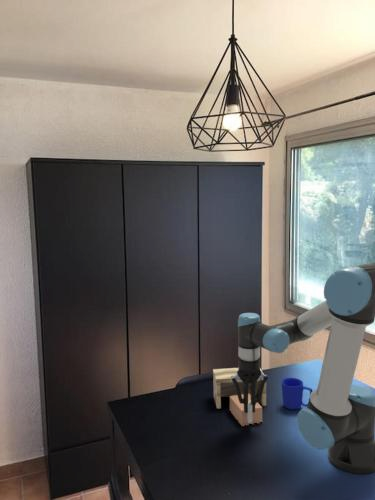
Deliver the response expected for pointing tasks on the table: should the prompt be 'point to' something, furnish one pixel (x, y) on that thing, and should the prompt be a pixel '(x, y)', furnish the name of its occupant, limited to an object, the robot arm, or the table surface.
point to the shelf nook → (231, 385)
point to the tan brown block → (240, 415)
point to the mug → (293, 393)
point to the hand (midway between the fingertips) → (249, 420)
